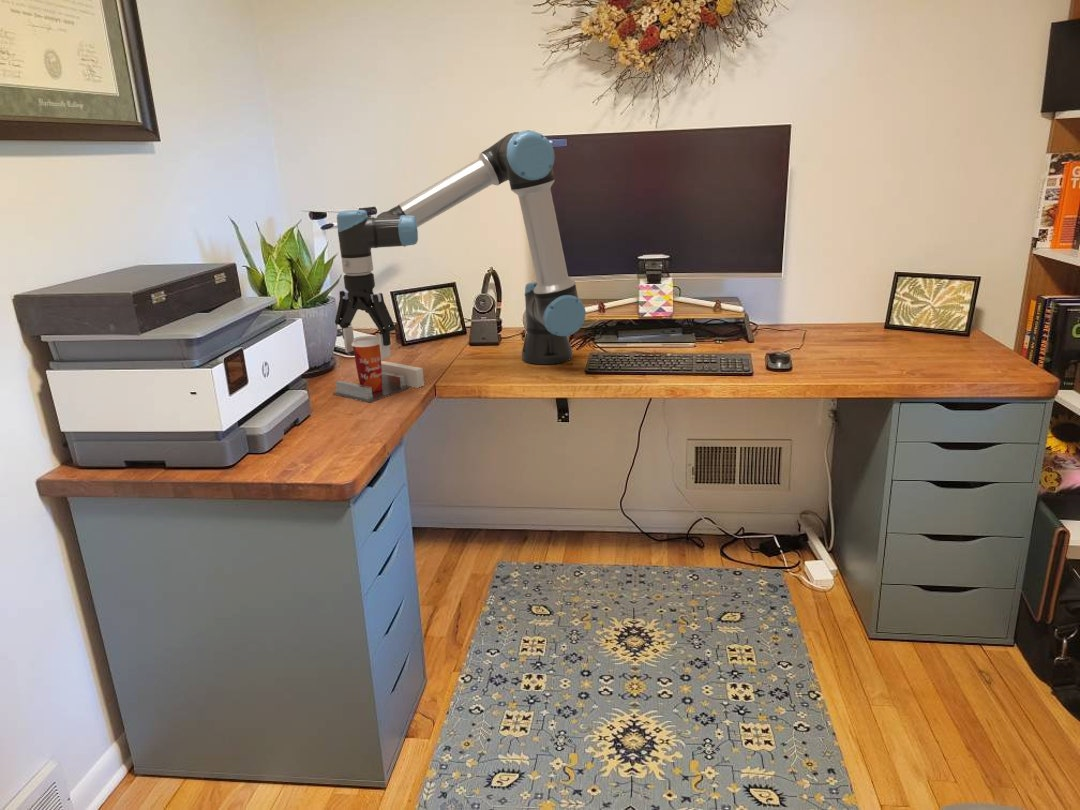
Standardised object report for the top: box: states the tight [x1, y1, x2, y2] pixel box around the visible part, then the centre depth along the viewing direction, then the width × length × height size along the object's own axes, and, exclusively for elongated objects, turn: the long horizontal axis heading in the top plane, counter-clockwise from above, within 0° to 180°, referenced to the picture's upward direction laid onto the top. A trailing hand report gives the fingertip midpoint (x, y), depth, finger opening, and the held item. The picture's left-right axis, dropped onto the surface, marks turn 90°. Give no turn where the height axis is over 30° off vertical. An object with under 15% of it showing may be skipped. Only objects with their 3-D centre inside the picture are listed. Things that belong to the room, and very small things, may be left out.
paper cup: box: [351, 335, 382, 393], centre depth 202 cm, size 8×8×14 cm
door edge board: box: [381, 360, 425, 389], centre depth 211 cm, size 18×2×5 cm, turn 54°
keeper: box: [332, 372, 410, 403], centre depth 204 cm, size 14×14×4 cm
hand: (367, 354), depth 201 cm, fingers open, 13 cm apart
